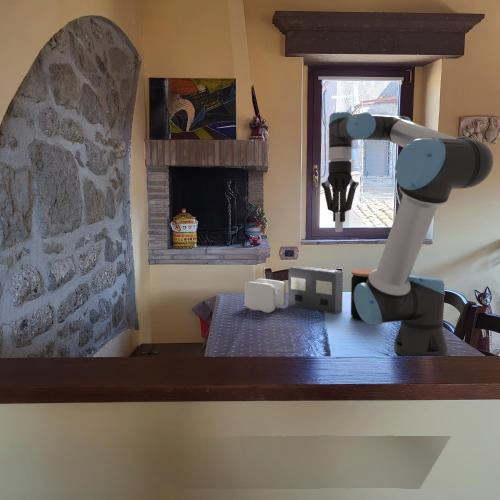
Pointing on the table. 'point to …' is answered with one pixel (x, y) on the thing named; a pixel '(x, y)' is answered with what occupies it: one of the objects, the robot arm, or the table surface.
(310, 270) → the box
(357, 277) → the coffee jar
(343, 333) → the table surface
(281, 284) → the cable organizer
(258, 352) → the table surface
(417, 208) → the robot arm
